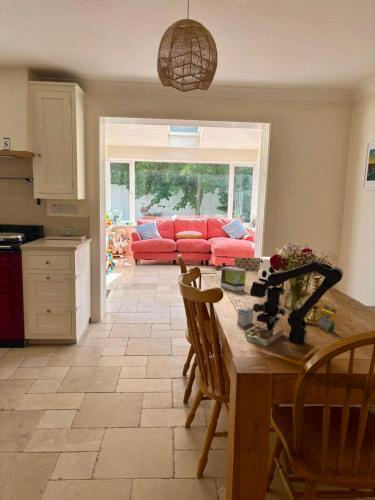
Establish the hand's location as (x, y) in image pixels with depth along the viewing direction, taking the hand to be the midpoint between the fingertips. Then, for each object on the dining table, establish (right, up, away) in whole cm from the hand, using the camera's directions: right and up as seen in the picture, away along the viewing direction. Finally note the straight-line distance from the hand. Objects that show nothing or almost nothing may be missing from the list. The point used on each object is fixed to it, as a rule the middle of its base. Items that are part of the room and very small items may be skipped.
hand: (269, 332), depth 163 cm
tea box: (-6, +10, +88) cm, 89 cm away
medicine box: (-9, 0, +13) cm, 16 cm away
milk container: (+28, +13, +124) cm, 128 cm away
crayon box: (+32, -2, +15) cm, 35 cm away
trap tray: (-4, -2, -2) cm, 5 cm away
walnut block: (-2, -1, -3) cm, 4 cm away
